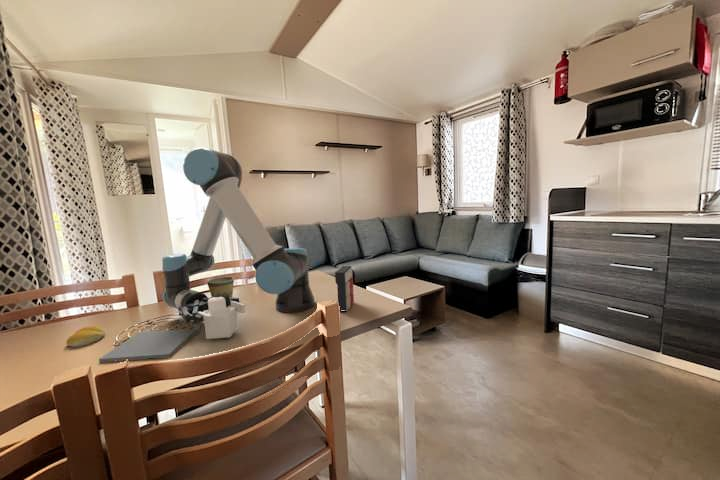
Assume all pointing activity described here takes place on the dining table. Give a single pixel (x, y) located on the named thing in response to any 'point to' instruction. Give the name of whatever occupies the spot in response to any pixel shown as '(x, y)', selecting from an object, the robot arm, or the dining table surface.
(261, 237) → the robot arm
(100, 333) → the yellow seashell
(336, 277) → the dark grey box
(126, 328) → the dining table surface
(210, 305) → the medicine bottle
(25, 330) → the dining table surface
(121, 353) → the mat
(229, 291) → the ceramic cup
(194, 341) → the dining table surface
